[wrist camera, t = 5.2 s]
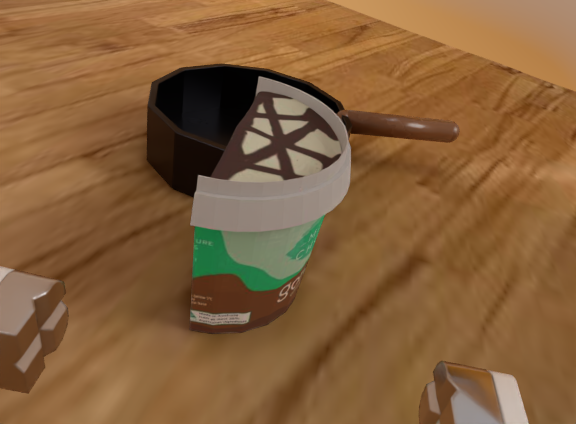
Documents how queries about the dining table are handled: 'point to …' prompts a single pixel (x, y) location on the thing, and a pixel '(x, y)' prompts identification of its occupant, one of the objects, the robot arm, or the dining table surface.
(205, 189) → the food container
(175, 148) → the pan
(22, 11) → the dining table surface
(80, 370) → the dining table surface
